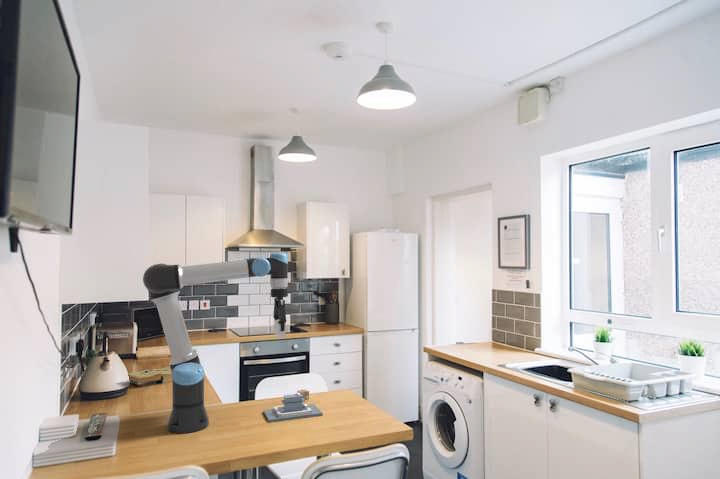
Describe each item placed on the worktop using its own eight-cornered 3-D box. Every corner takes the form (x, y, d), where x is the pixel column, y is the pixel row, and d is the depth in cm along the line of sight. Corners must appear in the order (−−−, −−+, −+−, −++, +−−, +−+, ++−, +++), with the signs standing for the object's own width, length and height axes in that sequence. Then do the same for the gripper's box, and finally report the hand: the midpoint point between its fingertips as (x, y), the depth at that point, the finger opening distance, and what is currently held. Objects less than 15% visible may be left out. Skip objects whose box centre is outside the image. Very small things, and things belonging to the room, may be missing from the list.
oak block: (301, 401, 224) (301, 392, 224) (297, 399, 227) (297, 390, 227) (309, 400, 226) (309, 391, 226) (305, 398, 229) (304, 389, 229)
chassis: (268, 422, 195) (268, 416, 195) (263, 412, 208) (263, 406, 209) (322, 415, 203) (322, 410, 203) (314, 406, 216) (313, 401, 216)
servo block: (283, 414, 202) (283, 396, 203) (281, 411, 206) (281, 393, 206) (305, 411, 205) (304, 393, 206) (302, 408, 209) (302, 391, 210)
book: (171, 375, 280) (171, 364, 280) (184, 380, 268) (184, 369, 269) (125, 383, 262) (125, 372, 262) (137, 389, 251) (137, 377, 251)
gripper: (292, 289, 208) (293, 340, 207) (283, 286, 232) (283, 331, 231) (275, 289, 206) (275, 341, 205) (267, 286, 229) (267, 332, 228)
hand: (279, 336), depth 218 cm, fingers open, 13 cm apart
